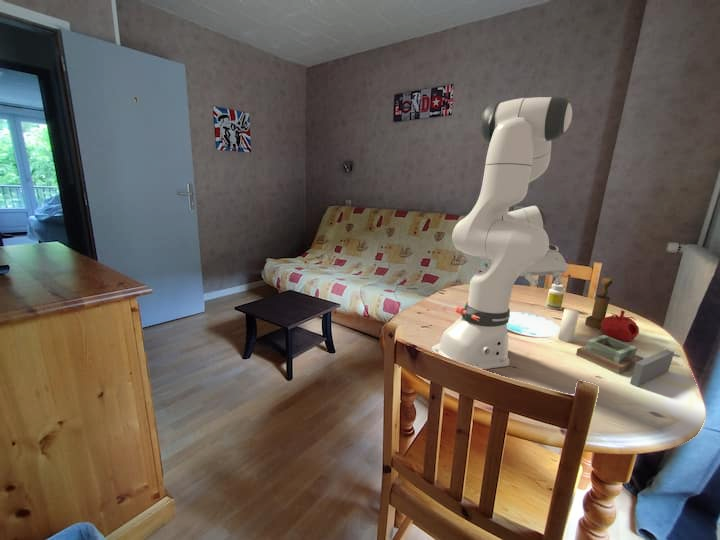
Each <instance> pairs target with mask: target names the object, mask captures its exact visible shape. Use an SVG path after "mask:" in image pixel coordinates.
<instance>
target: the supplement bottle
mask: <svg viewBox="0 0 720 540" xmlns="http://www.w3.org/2000/svg"><path fill="white" fill-rule="evenodd" d="M550 287H551V288H549V289H548V292H547V298H546V302H545V307H546V308H548V309H551V310H561V309H562V304H563V299H564V295H565V292H564V290H563V289H564V285H563V284H561V285H555V283H552V284H551V286H550Z"/></svg>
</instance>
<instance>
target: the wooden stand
mask: <svg viewBox="0 0 720 540" xmlns="http://www.w3.org/2000/svg"><path fill="white" fill-rule="evenodd" d="M600 284H601V286H602V288H601V289H600V290H599V293H600V294H596V295H595V299H594V304H593V308H592V312H591V315H589V316H586V318H585V322H584V324H585V325H586V327H589V328H592V329H595V330H601V322H602V320H603V319H604V318H605V317H607V313H608V307H609V302H610V300H611V299H610V298H611V297H609V296H608V293H609V290H608V289H609V287H610V286H611V285H612V284H613V280H612V279H611V278H609V277H603V278H602V279H601V281H600ZM601 331H602V330H601Z"/></svg>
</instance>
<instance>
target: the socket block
mask: <svg viewBox="0 0 720 540" xmlns="http://www.w3.org/2000/svg"><path fill="white" fill-rule="evenodd" d="M637 350H638V347H637V346H634V345H631V344H630V343H627V342H625V341H620V340H616V339H614V338H611V337H608V336H606V335H605V334H603V335H600V336H597V337H592V338H591V339H588V340H587V341H586V345H584V346H581V347H579V348H577V349H576V353H575V355H576V356H577V357H580V358H582V359H584V360H587V361H589V362H590V363H592V364H596V365H598V366H600V367H602V368H603V369H607V370H608V371H610V372H613V373H614V374H617V375H620V374H622V373H624V372H627V371H630V370H631V369H634V367H635V363H636V362H638V361H640V360H643V359H644V357H642V356H639V355H637V354H636V353H637Z"/></svg>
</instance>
